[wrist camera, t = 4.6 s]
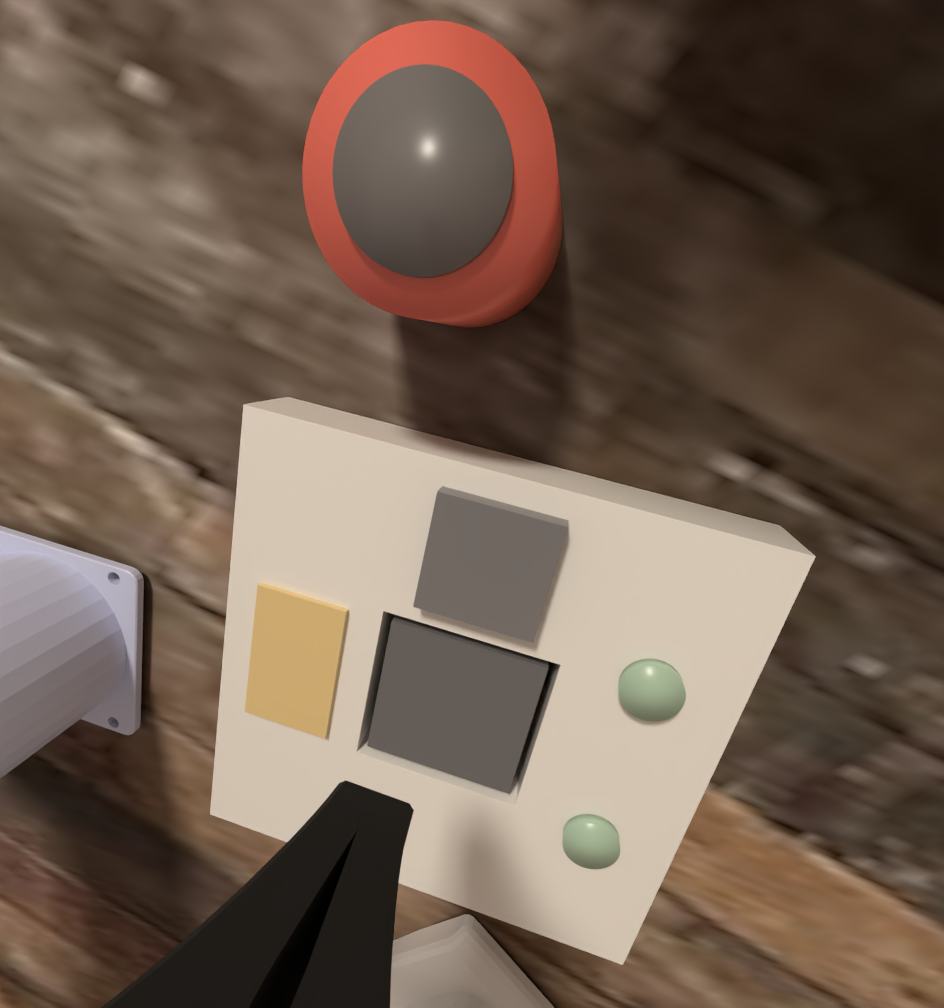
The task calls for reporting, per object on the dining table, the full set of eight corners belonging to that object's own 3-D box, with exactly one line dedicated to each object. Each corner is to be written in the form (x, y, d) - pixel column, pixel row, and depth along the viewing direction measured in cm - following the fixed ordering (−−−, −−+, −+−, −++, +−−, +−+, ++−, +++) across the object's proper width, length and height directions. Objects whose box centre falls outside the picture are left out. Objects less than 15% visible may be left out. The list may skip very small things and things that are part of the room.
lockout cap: (372, 306, 16) (282, 288, 11) (401, 111, 15) (311, -10, 10) (536, 345, 16) (517, 344, 11) (585, 146, 14) (590, 35, 9)
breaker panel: (248, 765, 23) (199, 827, 20) (288, 396, 18) (230, 406, 15) (617, 895, 21) (624, 984, 18) (779, 525, 16) (826, 565, 13)
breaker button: (390, 701, 20) (367, 745, 18) (414, 587, 19) (391, 620, 16) (516, 742, 20) (508, 793, 17) (552, 628, 18) (548, 668, 16)
